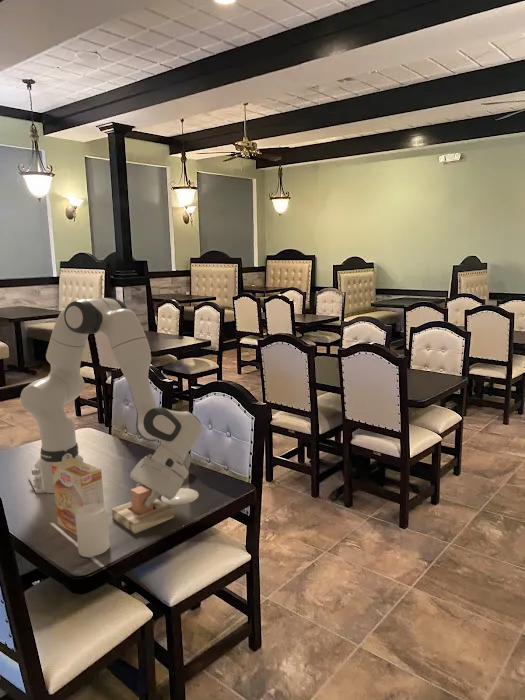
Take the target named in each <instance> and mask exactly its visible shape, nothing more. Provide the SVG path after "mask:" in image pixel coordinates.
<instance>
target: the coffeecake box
mask: <svg viewBox="0 0 525 700" xmlns="http://www.w3.org/2000/svg"><path fill="white" fill-rule="evenodd" d="M52 472H53V482H54V492H55V493H54V499H55V500H54V501H55V502H54V503H55V511H56V520H57V527H58V528H59V527H62V528H64V529H65V530H67V531H69V532H71V533H73V534H74V535H76V536H77V530H76V520H75V516H76V514H77V510H78V509H79V508H80V507H82V506H84V505H88V504H94V503H98V504H102V505H104V506H105V501H104V488H103V487H104V486H103V475H102V469H101V468H99V467H96V466H94V465H91V464H88V463H86V462H84V461H83V462H82V461H79V460H77V459H74V458H70V459H67V460H64V461H61V462H57V463H54V464H52Z"/></svg>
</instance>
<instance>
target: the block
mask: <svg viewBox="0 0 525 700" xmlns="http://www.w3.org/2000/svg"><path fill="white" fill-rule="evenodd" d="M152 491H153V490H152V489H150V488H148V487H146V486H145V485H142V486H139V487H136V486H135V487H134V488H131V489H130V499H131V501H130V502H131V504H132V512H133V513H135V514H136V515H138V516H139V515H142V514H144V513H147V512H150V511H152V510H153V502H152V503H151V505H150V506H149V507H147V506H146V505H144V504H143V501H144V500H145V498H148V497H149V496H151V495H152V494H151V493H152Z"/></svg>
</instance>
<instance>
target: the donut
mask: <svg viewBox="0 0 525 700" xmlns="http://www.w3.org/2000/svg"><path fill="white" fill-rule="evenodd" d="M191 461H192V458H191V454H190V453H189V452H188V453H187V454H186V457H185V460H184V462H183V463H182V465H183V466H184V467H185V469H186V470H187V471H188V469H189V467H190V466H191V463H192V462H191Z"/></svg>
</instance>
